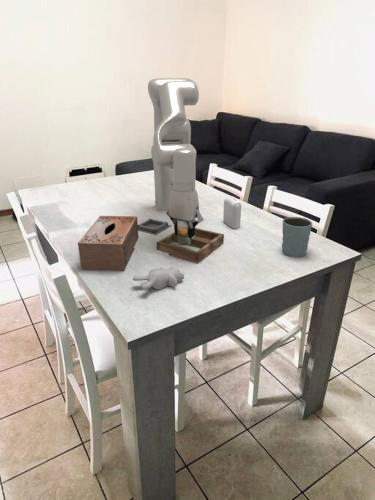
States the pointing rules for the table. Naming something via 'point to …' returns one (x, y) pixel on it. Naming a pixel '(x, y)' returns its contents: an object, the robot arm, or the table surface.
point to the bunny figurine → (160, 278)
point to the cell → (183, 232)
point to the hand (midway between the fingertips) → (184, 235)
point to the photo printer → (232, 212)
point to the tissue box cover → (109, 243)
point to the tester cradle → (153, 226)
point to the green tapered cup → (295, 236)
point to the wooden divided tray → (192, 245)
